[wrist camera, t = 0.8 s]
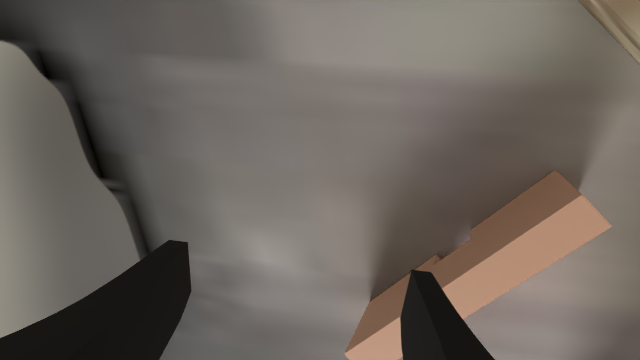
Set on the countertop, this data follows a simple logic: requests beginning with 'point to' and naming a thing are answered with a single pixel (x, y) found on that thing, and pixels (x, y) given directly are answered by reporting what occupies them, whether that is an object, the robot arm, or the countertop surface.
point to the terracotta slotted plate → (489, 260)
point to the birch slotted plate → (619, 21)
